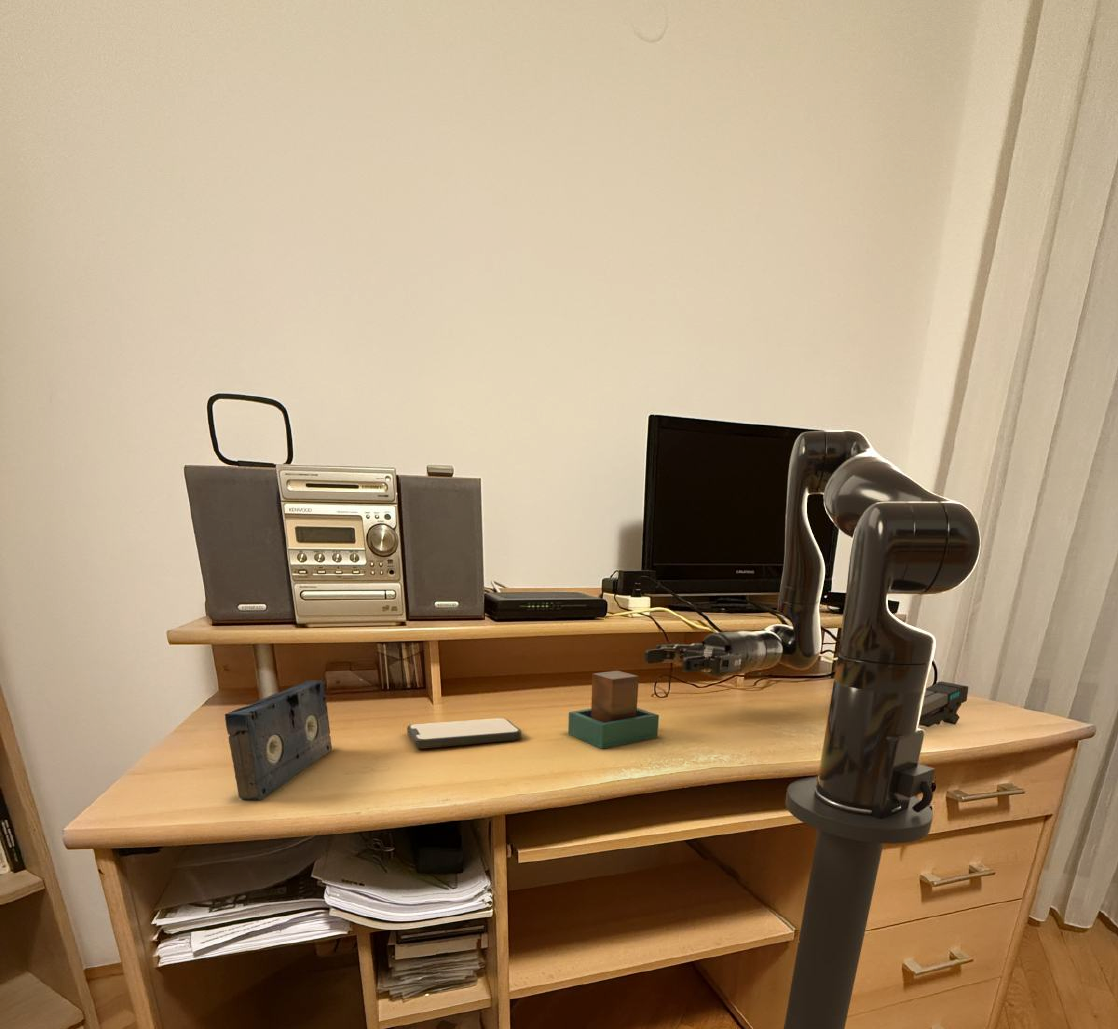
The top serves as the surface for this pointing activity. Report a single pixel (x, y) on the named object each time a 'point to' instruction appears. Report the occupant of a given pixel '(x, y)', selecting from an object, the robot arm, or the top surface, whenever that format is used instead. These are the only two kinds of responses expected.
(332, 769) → the top surface
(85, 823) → the top surface
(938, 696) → the gun
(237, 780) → the vhs cassette tape
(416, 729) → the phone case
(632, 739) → the open box
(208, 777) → the top surface
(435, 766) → the top surface
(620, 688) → the brown block
